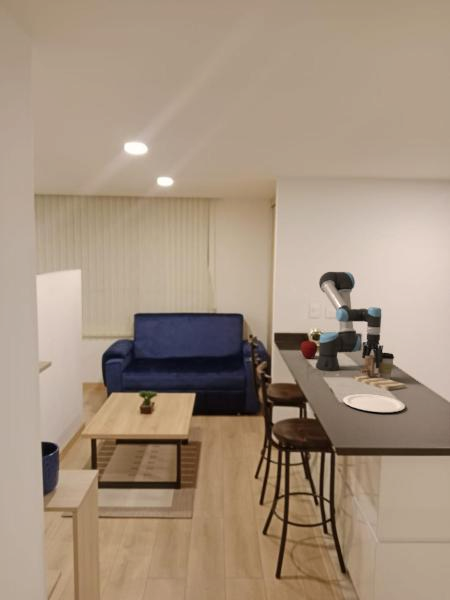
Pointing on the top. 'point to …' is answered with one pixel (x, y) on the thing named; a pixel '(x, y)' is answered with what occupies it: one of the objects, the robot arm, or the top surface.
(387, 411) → the plate
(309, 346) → the apple
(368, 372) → the brown box
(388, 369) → the coffee cup
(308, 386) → the top surface
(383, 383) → the board
